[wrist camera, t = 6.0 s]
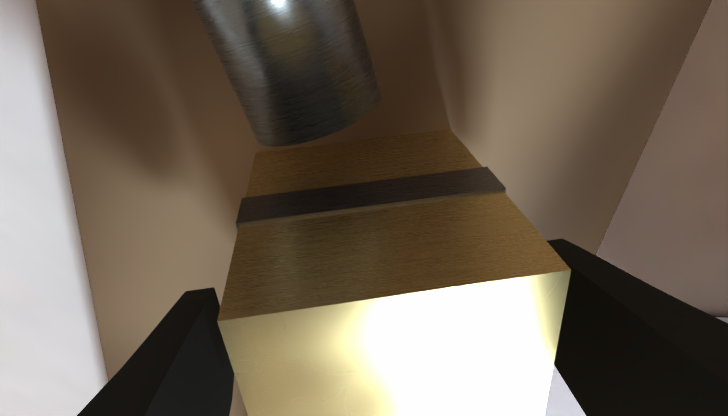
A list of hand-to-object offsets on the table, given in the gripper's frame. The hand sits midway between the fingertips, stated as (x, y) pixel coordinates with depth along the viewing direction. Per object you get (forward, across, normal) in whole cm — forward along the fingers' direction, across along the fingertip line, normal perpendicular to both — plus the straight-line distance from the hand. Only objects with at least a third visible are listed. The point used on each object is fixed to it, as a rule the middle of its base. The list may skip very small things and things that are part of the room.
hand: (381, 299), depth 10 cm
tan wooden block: (+3, 0, 0) cm, 3 cm away
